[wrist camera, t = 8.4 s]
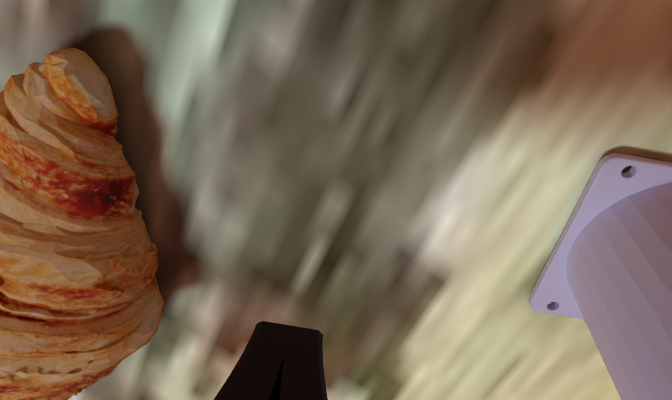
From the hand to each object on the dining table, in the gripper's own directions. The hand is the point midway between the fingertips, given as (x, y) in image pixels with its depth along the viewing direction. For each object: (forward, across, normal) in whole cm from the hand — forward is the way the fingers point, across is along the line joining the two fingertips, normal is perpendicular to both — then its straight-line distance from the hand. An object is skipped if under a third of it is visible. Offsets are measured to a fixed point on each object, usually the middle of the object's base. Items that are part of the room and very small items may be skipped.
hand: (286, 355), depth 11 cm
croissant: (+10, +11, +8) cm, 17 cm away
